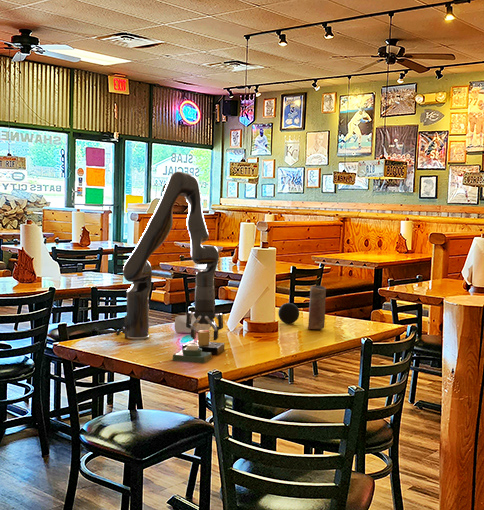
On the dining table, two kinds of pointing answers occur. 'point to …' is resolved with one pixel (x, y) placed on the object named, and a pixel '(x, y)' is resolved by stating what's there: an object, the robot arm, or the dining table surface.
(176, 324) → the stone
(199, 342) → the knob
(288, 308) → the decorative ball
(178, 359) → the button block
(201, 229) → the robot arm
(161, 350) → the dining table surface
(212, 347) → the panel
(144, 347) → the dining table surface
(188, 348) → the button
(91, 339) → the dining table surface
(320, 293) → the candle
